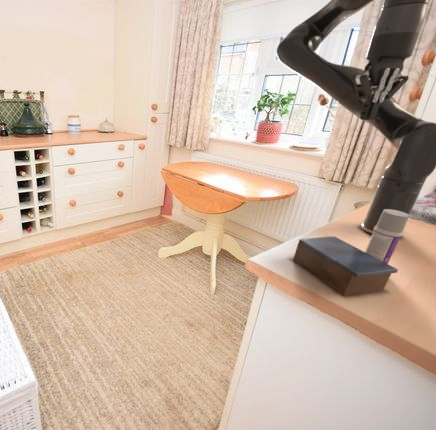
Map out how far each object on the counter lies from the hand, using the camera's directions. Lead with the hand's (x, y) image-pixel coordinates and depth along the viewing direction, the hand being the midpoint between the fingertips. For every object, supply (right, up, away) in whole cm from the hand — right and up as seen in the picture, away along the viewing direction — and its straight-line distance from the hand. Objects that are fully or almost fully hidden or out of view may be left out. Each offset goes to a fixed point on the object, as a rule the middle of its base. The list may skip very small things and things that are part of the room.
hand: (366, 119), depth 68 cm
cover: (-6, -32, -1) cm, 32 cm away
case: (-7, -36, +1) cm, 37 cm away
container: (+4, -36, +4) cm, 36 cm away
